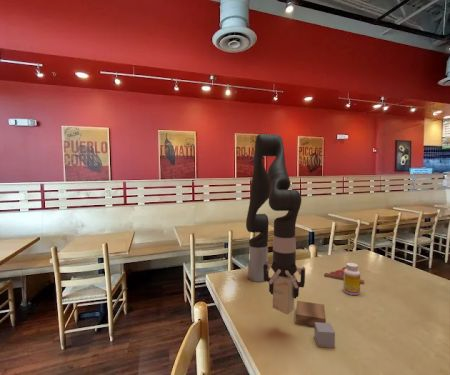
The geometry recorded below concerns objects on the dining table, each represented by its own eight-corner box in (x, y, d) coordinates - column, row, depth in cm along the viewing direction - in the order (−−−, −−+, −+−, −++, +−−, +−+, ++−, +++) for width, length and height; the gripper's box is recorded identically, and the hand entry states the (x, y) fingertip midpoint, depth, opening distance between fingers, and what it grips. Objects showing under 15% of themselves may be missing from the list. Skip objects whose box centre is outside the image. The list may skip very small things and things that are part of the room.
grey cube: (318, 346, 81) (318, 331, 80) (314, 336, 86) (314, 322, 85) (334, 348, 80) (334, 332, 80) (330, 337, 85) (330, 323, 85)
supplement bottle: (361, 296, 112) (362, 267, 111) (345, 295, 113) (346, 266, 112) (357, 289, 118) (357, 262, 118) (341, 288, 120) (342, 261, 119)
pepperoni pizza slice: (323, 273, 133) (331, 261, 150) (323, 277, 133) (330, 265, 150) (364, 281, 123) (367, 268, 140) (364, 286, 123) (366, 272, 140)
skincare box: (272, 308, 89) (272, 274, 88) (279, 303, 92) (279, 270, 91) (288, 315, 85) (288, 279, 84) (295, 310, 88) (295, 275, 87)
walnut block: (295, 324, 93) (295, 314, 92) (297, 310, 102) (297, 300, 102) (325, 329, 90) (325, 318, 89) (323, 314, 99) (324, 304, 99)
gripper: (260, 249, 86) (260, 296, 87) (305, 254, 80) (304, 305, 82) (265, 243, 93) (265, 287, 94) (307, 247, 87) (306, 294, 89)
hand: (283, 295), depth 88 cm, fingers closed on skincare box, 7 cm apart
